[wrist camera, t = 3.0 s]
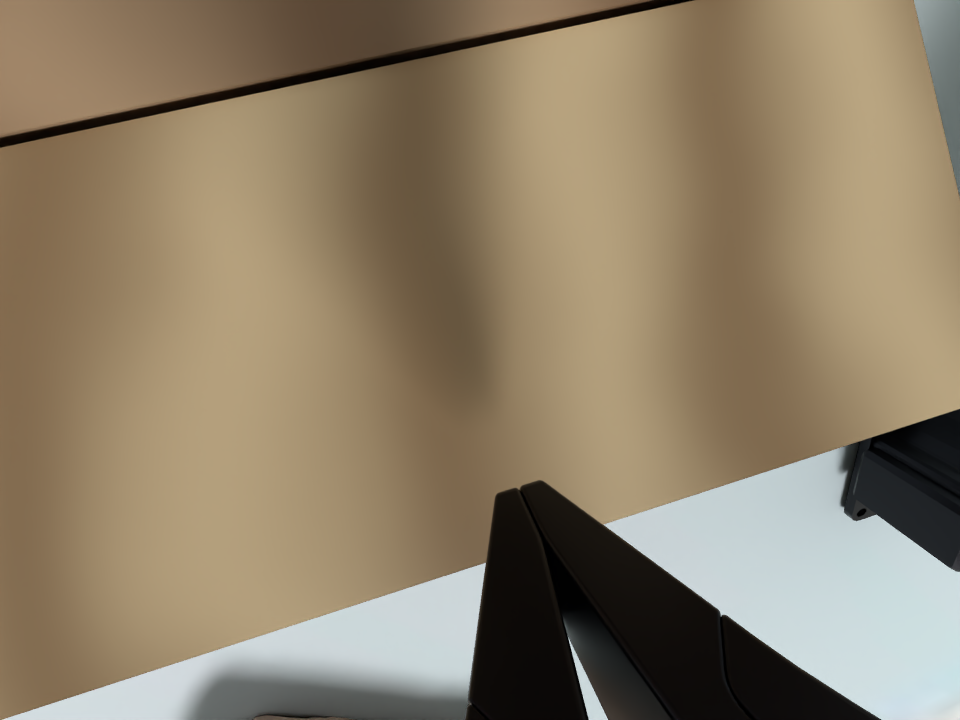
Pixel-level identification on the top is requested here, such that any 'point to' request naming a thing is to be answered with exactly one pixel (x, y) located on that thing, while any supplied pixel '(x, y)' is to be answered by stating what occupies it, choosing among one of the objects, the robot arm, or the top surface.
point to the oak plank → (451, 314)
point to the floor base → (232, 49)
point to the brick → (276, 719)
